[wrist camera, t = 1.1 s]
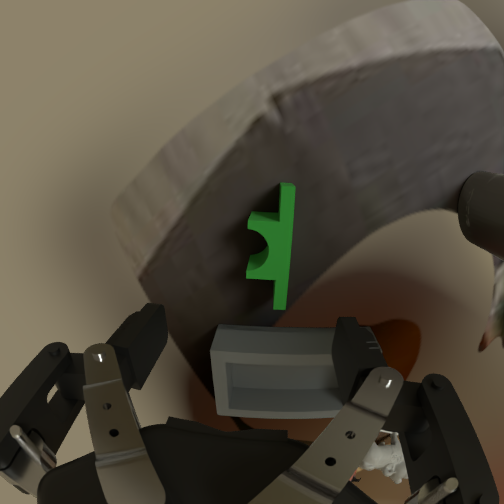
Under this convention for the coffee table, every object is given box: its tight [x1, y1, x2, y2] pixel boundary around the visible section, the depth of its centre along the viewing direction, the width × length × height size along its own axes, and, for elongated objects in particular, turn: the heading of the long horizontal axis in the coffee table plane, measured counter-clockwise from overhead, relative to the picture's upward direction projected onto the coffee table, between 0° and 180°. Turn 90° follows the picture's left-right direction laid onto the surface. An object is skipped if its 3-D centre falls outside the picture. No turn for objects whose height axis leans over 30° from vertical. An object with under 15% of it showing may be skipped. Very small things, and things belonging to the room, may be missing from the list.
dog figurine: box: [358, 432, 408, 484], centre depth 32 cm, size 5×13×11 cm, turn 68°
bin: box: [210, 324, 382, 419], centre depth 30 cm, size 18×11×5 cm, turn 90°
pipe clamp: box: [246, 183, 295, 310], centre depth 25 cm, size 11×4×5 cm, turn 178°
